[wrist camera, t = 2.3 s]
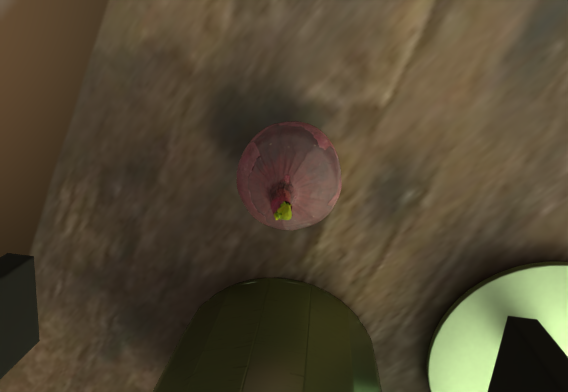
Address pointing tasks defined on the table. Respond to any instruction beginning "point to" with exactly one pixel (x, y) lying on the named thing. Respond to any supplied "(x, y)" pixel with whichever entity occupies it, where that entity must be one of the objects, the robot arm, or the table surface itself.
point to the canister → (272, 343)
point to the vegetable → (289, 176)
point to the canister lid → (495, 323)
